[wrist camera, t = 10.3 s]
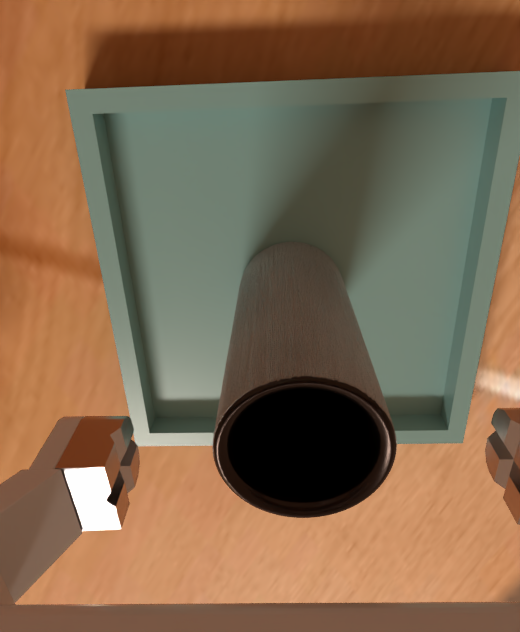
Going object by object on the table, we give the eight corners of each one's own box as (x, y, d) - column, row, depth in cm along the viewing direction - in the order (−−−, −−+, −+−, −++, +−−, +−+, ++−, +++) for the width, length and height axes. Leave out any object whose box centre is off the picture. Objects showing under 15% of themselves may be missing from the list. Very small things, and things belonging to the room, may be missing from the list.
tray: (84, 89, 18) (65, 89, 16) (511, 71, 17) (536, 70, 16) (144, 422, 25) (135, 446, 23) (450, 419, 24) (462, 443, 23)
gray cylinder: (248, 232, 20) (224, 363, 10) (354, 250, 20) (422, 394, 11) (233, 326, 22) (201, 507, 12) (329, 342, 22) (370, 530, 13)
